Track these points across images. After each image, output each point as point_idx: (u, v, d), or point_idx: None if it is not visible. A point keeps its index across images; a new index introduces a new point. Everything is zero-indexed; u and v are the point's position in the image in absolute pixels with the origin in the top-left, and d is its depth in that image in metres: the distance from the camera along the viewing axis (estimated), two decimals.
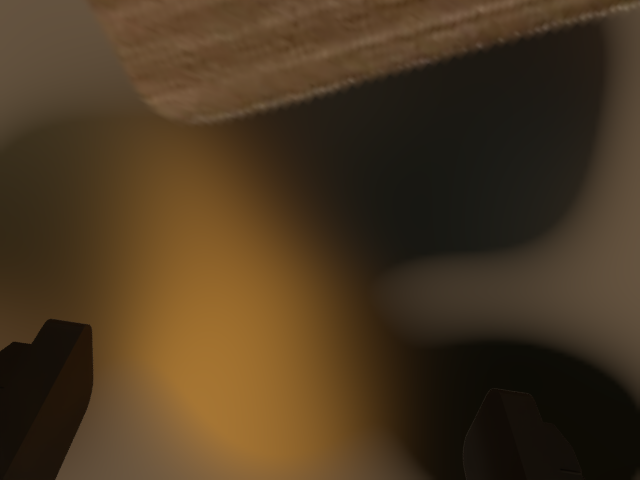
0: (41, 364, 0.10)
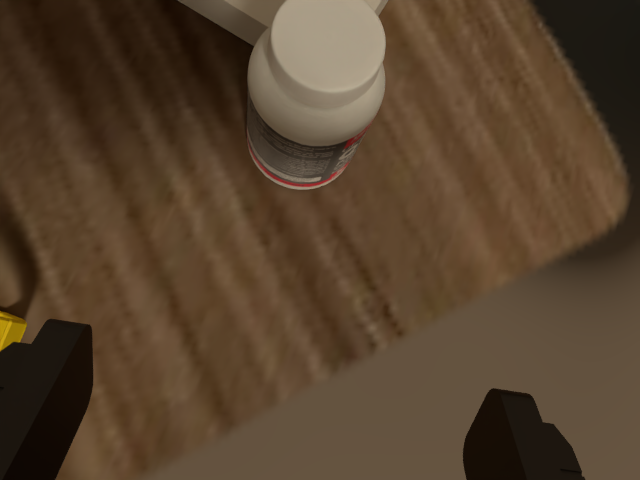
0: (41, 364, 0.10)
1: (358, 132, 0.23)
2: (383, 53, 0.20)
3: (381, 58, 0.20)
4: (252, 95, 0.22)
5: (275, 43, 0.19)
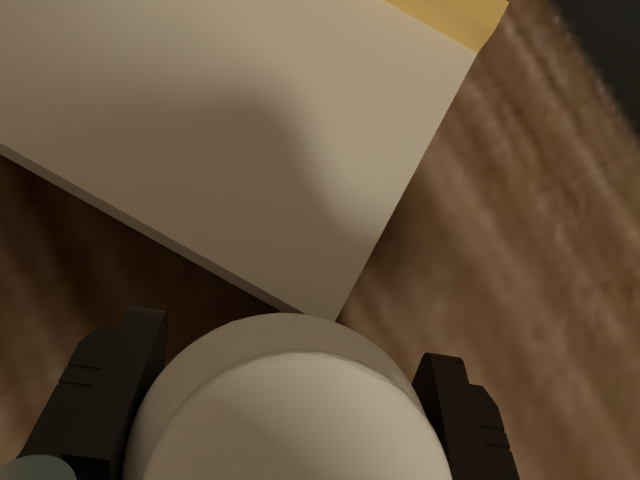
0: (131, 346, 0.10)
1: None
2: None
3: None
4: None
5: None
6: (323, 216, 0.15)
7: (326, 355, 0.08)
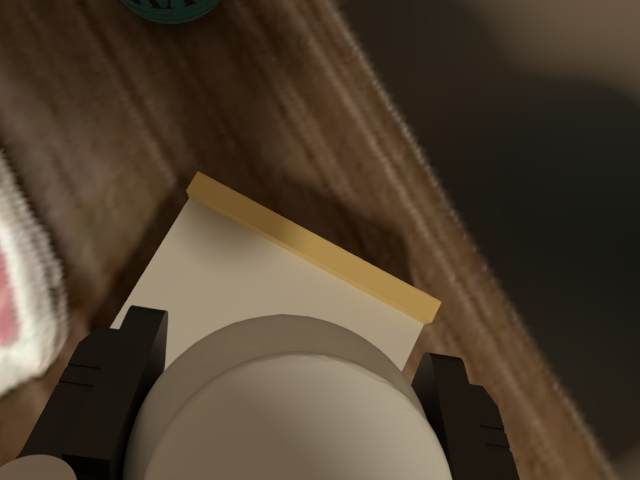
0: (131, 346, 0.10)
1: None
2: None
3: None
4: None
5: None
6: None
7: (326, 358, 0.08)
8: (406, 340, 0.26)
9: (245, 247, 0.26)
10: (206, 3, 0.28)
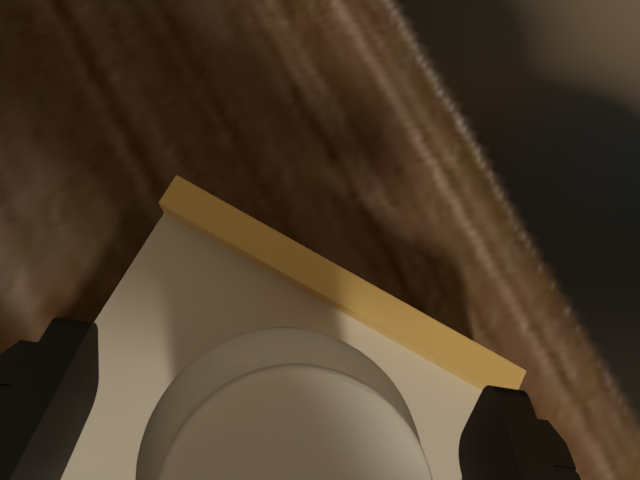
0: (48, 362, 0.10)
1: None
2: None
3: None
4: None
5: None
6: None
7: (320, 370, 0.08)
8: None
9: (244, 285, 0.18)
10: None
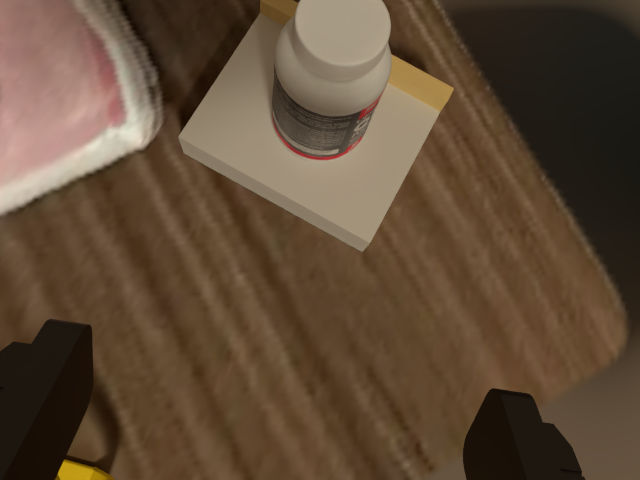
0: (41, 364, 0.10)
1: (370, 103, 0.26)
2: (389, 32, 0.24)
3: (387, 36, 0.24)
4: (279, 75, 0.26)
5: (298, 27, 0.23)
6: (365, 191, 0.33)
7: None
8: (426, 122, 0.34)
9: None
10: None
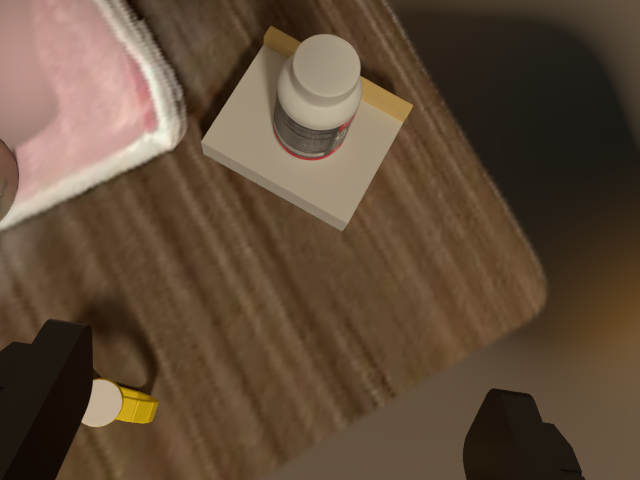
0: (41, 364, 0.10)
1: (346, 120, 0.36)
2: (359, 72, 0.34)
3: (358, 75, 0.34)
4: (280, 100, 0.36)
5: (295, 69, 0.33)
6: (344, 184, 0.42)
7: (331, 35, 0.34)
8: (392, 131, 0.44)
9: None
10: None
